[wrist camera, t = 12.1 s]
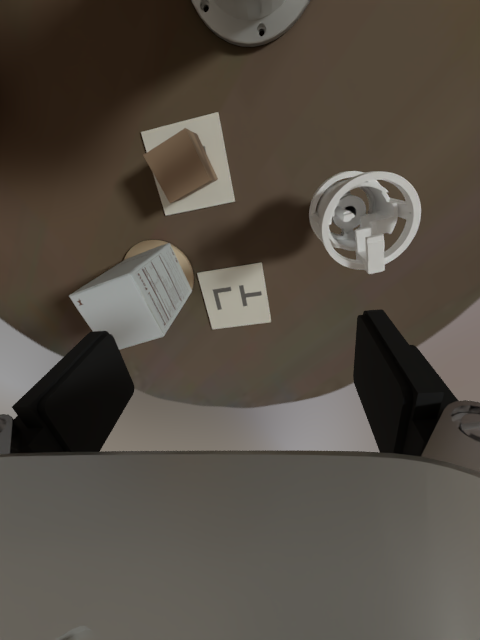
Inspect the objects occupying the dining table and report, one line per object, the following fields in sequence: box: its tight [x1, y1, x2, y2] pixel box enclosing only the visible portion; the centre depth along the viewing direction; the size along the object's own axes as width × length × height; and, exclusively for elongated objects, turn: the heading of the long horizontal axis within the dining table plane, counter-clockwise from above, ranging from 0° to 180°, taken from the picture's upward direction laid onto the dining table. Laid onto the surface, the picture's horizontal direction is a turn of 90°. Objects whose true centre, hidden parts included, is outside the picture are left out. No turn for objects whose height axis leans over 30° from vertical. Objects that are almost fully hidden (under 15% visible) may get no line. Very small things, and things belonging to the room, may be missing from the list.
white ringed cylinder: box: [309, 171, 421, 274], centre depth 27 cm, size 7×7×15 cm
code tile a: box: [197, 262, 271, 329], centre depth 40 cm, size 9×9×1 cm
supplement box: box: [69, 243, 192, 350], centre depth 34 cm, size 7×7×13 cm
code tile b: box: [141, 112, 235, 216], centre depth 33 cm, size 9×9×1 cm
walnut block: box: [143, 128, 218, 203], centre depth 31 cm, size 5×5×5 cm
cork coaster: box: [124, 239, 194, 289], centre depth 39 cm, size 10×10×1 cm
